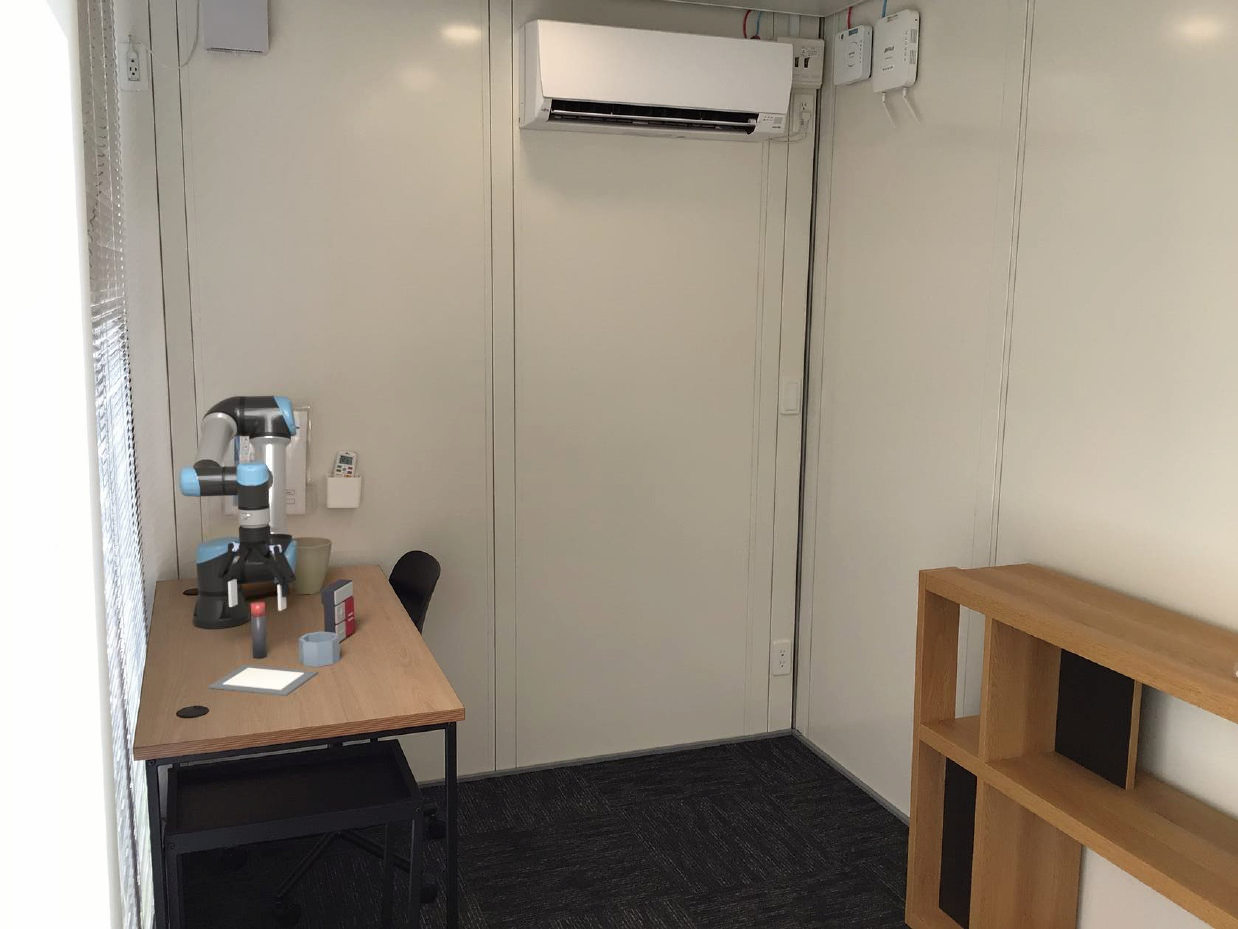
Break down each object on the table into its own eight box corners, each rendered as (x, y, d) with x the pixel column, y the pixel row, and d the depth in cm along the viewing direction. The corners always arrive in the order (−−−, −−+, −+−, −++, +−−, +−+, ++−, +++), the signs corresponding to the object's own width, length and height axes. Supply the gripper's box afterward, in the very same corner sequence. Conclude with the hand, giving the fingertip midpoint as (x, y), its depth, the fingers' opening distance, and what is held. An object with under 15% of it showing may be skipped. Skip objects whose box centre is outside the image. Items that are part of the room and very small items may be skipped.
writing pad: (208, 688, 242) (208, 685, 242) (243, 666, 256) (243, 664, 256) (286, 695, 238) (286, 693, 238) (318, 673, 252) (317, 671, 252)
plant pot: (316, 600, 313) (314, 549, 310) (273, 595, 317) (271, 545, 314) (342, 587, 327) (341, 538, 325) (301, 583, 331) (299, 534, 329)
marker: (250, 658, 262) (247, 604, 260) (257, 653, 265) (255, 601, 263) (262, 659, 261) (260, 605, 259) (269, 654, 265) (267, 602, 263)
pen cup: (294, 664, 258) (293, 641, 257) (311, 653, 267) (311, 630, 266) (327, 668, 256) (327, 644, 255) (344, 656, 265) (343, 633, 264)
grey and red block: (337, 645, 273) (336, 590, 270) (322, 644, 273) (320, 589, 271) (356, 632, 283) (354, 579, 281) (341, 631, 284) (340, 578, 282)
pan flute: (210, 610, 303) (289, 594, 320) (209, 599, 303) (289, 584, 320) (175, 592, 321) (253, 578, 338) (175, 582, 320) (252, 568, 337)
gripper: (200, 525, 257) (204, 608, 260) (292, 530, 252) (295, 614, 255) (218, 519, 264) (221, 600, 267) (307, 524, 259) (310, 606, 262)
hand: (257, 607), depth 261 cm, fingers open, 13 cm apart
